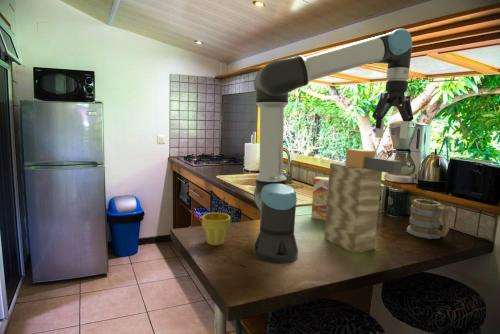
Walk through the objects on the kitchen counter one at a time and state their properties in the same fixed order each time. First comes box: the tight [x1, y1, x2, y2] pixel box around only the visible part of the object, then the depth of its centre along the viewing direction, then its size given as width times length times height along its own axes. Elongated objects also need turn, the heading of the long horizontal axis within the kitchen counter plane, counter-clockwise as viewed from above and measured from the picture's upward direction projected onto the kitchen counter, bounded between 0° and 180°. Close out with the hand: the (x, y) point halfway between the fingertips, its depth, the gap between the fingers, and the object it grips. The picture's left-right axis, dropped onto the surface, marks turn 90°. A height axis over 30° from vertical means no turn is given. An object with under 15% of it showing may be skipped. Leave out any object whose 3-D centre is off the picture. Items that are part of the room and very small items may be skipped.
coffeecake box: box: [310, 176, 329, 221], centre depth 157 cm, size 15×7×20 cm, turn 67°
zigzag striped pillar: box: [324, 162, 383, 254], centre depth 124 cm, size 16×10×30 cm, turn 28°
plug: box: [344, 148, 403, 175], centre depth 115 cm, size 20×6×6 cm, turn 28°
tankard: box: [406, 198, 457, 240], centre depth 138 cm, size 20×13×15 cm, turn 14°
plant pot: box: [201, 212, 232, 246], centre depth 121 cm, size 10×10×10 cm
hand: (391, 138), depth 126 cm, fingers open, 13 cm apart
